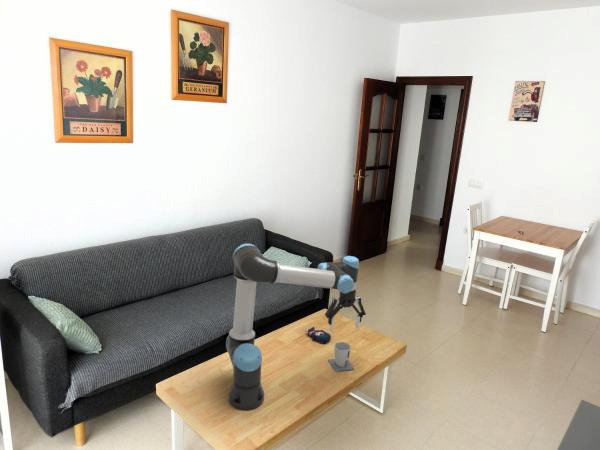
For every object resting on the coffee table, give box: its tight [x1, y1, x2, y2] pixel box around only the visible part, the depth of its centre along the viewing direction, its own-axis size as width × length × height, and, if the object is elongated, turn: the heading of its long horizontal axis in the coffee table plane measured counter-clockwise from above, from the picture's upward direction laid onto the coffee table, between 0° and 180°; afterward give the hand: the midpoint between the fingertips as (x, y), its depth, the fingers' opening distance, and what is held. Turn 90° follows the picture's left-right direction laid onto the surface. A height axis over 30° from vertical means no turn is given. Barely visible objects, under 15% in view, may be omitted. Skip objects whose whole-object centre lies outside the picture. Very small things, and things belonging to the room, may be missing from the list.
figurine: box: [304, 326, 332, 344], centre depth 242 cm, size 9×4×15 cm
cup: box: [333, 341, 352, 367], centre depth 217 cm, size 8×8×10 cm
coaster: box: [328, 358, 355, 373], centre depth 218 cm, size 10×10×1 cm
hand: (343, 329), depth 213 cm, fingers open, 13 cm apart
